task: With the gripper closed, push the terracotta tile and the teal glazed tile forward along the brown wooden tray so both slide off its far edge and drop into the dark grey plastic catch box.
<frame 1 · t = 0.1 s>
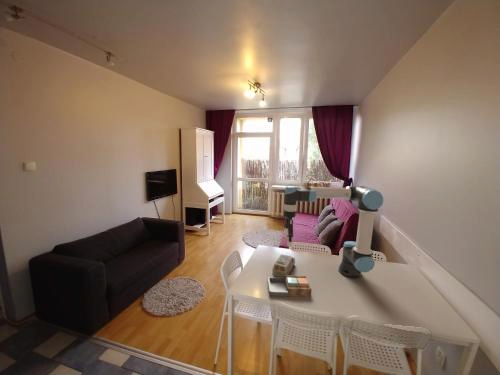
hand: (287, 241, 146), 28 cm above the table, fingers open, 13 cm apart
catch box: (277, 288, 143), on the table
tile b: (292, 283, 142), point 4 cm above the table, touching brown wooden tray
toy car: (284, 270, 164), on the table
brown wooden tray: (296, 289, 143), on the table
tile a: (302, 283, 142), point 4 cm above the table, touching brown wooden tray
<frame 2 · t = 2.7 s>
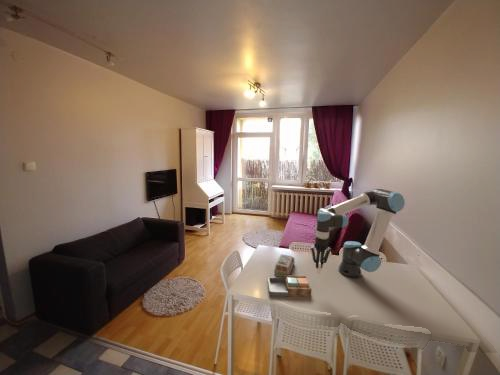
hand: (318, 272, 141), 12 cm above the table, fingers closed
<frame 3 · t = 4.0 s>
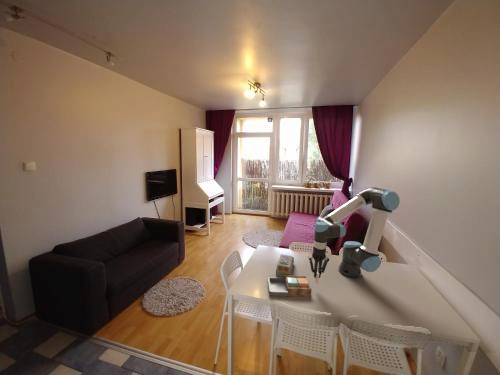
hand: (316, 282, 142), 5 cm above the table, fingers closed
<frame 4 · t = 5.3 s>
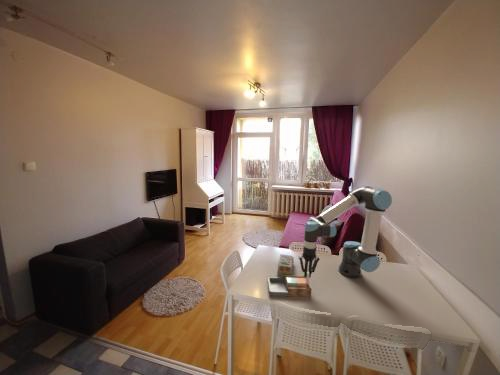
hand: (306, 281, 142), 5 cm above the table, fingers closed
tile a: (300, 283, 142), point 4 cm above the table, touching gripper, brown wooden tray
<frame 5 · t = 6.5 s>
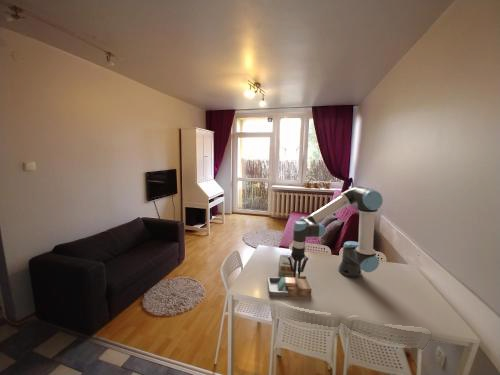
hand: (296, 281, 142), 5 cm above the table, fingers closed
tile b: (283, 284, 142), point 3 cm above the table, tilted 62°, touching catch box, tile a
tile a: (290, 283, 142), point 4 cm above the table, touching gripper, tile b
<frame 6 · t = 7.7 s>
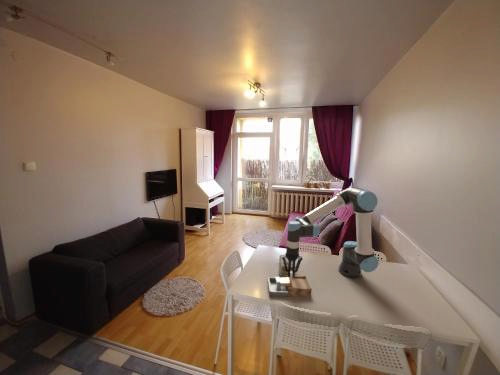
hand: (290, 281, 142), 5 cm above the table, fingers closed
tile b: (279, 283, 142), point 4 cm above the table, tilted 101°, touching catch box, tile a
tile a: (284, 283, 142), point 4 cm above the table, touching gripper, brown wooden tray, tile b
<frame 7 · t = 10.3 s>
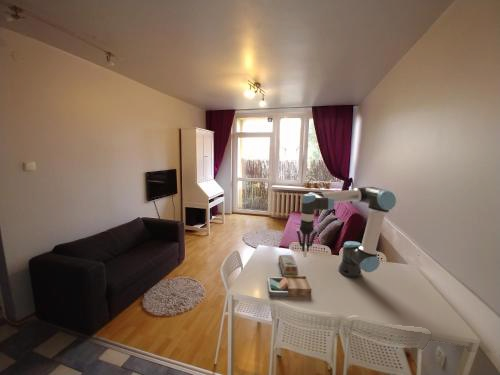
hand: (304, 256, 139), 22 cm above the table, fingers closed
tile b: (275, 283, 142), point 4 cm above the table, tilted 151°, touching catch box
tile a: (284, 284, 142), point 3 cm above the table, tilted 51°, touching catch box, brown wooden tray
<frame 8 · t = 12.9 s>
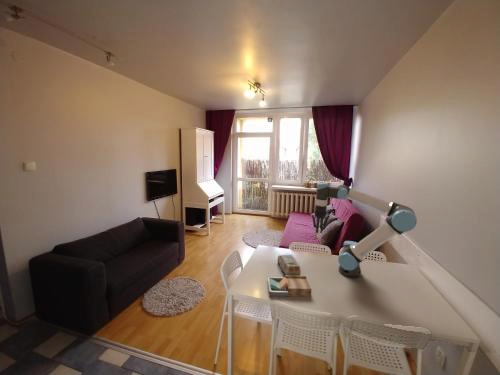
hand: (318, 237, 160), 26 cm above the table, fingers closed
at the end: tile a inside the target area on the catch box (4.0 cm from its centre), point 2.7 cm above the catch box's base; tile b inside the target area on the catch box (2.0 cm from its centre), point 3.6 cm above the catch box's base; tile a point 2.7 cm above the table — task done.
